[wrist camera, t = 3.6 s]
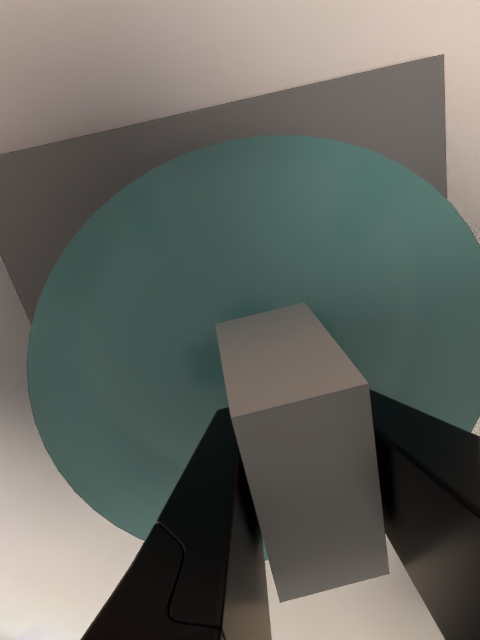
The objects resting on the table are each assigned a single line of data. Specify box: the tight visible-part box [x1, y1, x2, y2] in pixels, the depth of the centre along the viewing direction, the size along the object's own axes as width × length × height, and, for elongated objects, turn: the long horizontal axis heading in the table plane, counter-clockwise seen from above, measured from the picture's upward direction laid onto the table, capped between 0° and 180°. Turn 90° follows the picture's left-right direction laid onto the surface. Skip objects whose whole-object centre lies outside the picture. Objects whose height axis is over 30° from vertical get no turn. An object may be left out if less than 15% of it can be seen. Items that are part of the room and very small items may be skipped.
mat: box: [0, 54, 447, 325], centre depth 14 cm, size 13×13×1 cm
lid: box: [27, 135, 480, 602], centre depth 9 cm, size 11×11×4 cm
